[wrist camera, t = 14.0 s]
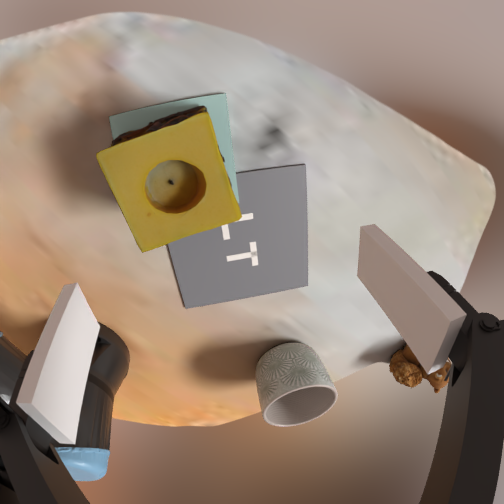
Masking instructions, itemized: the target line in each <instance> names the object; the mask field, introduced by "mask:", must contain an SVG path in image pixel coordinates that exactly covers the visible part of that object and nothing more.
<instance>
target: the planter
mask: <svg viewBox="0 0 504 504" xmlns="http://www.w3.org/2000/svg"><path fill="white" fill-rule="evenodd" d="M255 375H256V385H257V391H258V396H259V401H260V406H261V411H262V416H263V419H264V420H265V421H266V422H267V423H269V424H271V425H274V426H281V427H283V426H284V427H286V426H295V425H300V424H303V423H306V422H309V421H312V420H314V419H316V418H318V417H320V416H321V415H323V414H324V413H326V412H327V411H328V410H329V409H330V408H331V407H332V406H333V405H334V404H335V402H336V400H337V397H338V393H337V390H336V388H335V386H334V384H333V382H332V380H331V378H330V376H329V374H328V372H327V370H326V368H325V366H324V364H323V363H322V361H321V359H320V358H319V356H318V355H317V353H316V352H315V351H314V350H313V349H312V348H311V347H309V346H307V345H305V344H302V343H285V344H281V345H278V346H276V347H274V348H272V349H270V350H269V351H267V352H266V353H265V354H264V355H263V356H262V357H261V358H260V360H259V361H258V363H257V366H256V374H255Z"/></svg>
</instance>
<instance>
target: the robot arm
mask: <svg viewBox="0 0 504 504" xmlns="http://www.w3.org/2000/svg"><path fill="white" fill-rule="evenodd" d="M357 276H358V278H359V279H360V280H361V281H362V283H363V284H364V285H365V287H366V288H367V289H368V291H369V292H370V293H371V295H372V296H373V297H374V299H375V300H376V301H377V303H378V304H379V305H380V307H381V308H382V310H383V311H384V312H385V314H386V315H387V316H388V318H389V319H390V321H391V322H392V323H393V325H394V326H395V327H396V329H397V330H398V332H399V333H400V335H401V336H402V337H403V339H404V340H405V342H406V343H407V345H408V346H409V347H410V349H411V350H412V352H413V353H414V355H415V356H416V358H417V359H418V361H419V362H420V364H421V365H422V367H423V368H424V370H425V371H426V373H427V374H430V373H432V372H435V371H437V370H439V369H441V368H443V367H444V365H445V363H446V360H447V358H448V357H449V359H450V360H451V361H452V365H451V367H450V369H449V371H448V373H447V375H446V376H445V379H444V381H447V379H448V377H449V382H448V389H447V396H446V402H445V408H444V414H443V419H442V424H441V429H440V433H439V438H438V442H437V446H436V450H435V454H434V458H433V462H432V465H431V469H430V472H429V476H428V479H427V482H426V486H425V488H424V492H423V494H422V497H421V500H420V503H419V504H493V500H494V496H495V491H496V486H497V481H498V476H499V470H500V463H501V456H502V448H503V439H504V320H500V321H499V320H498V318H496V317H495V316H494V315H492V314H489V313H478V312H477V311H476V310H475V309H474V308H473V307H472V306H471V305H470V304H469V303H468V302H467V301H466V300H465V299H464V298H463V297H462V296H461V294H460V293H459V292H456V289H455V288H454V287H453V286H452V285H451V286H450V283H449V282H448V281H447V280H446V279H444V278H443V277H442V276H441V275H439V274H437V273H435V272H433V271H429V272H426V271H425V270H424V269H423V268H422V267H420V266H419V265H418V264H417V263H416V262H415V261H414V260H413V259H412V258H411V257H410V256H409V255H408V254H407V253H406V252H405V251H404V250H403V249H402V248H401V247H399V246H398V245H397V244H396V243H395V242H394V241H393V240H392V239H391V238H390V237H389V236H387V235H386V234H385V233H384V232H383V231H382V230H381V229H380V228H379V227H377V226H376V225H375V224H372V225H367V226H362V227H360V245H359V260H358V273H357ZM129 362H130V355H129V351H128V348H127V346H126V344H125V343H124V341H123V340H122V339H121V338H120V337H119V336H118V335H117V334H116V333H115V332H114V331H112V330H111V329H109V328H108V327H106V326H104V325H102V324H100V323H98V322H97V320H96V318H95V316H94V314H93V313H92V311H91V309H90V307H89V305H88V303H87V301H86V299H85V297H84V295H83V293H82V291H81V289H80V287H79V285H78V283H73V284H68V285H64V287H63V289H62V291H61V293H60V295H59V297H58V299H57V301H56V303H55V305H54V307H53V310H52V312H51V314H50V316H49V318H48V320H47V323H46V325H45V327H44V329H43V332H42V334H41V336H40V339H39V341H38V343H37V346H36V348H35V350H32V351H31V352H30V354H29V355H28V356H26V355H25V354H23V353H22V352H21V351H20V350H19V349H18V348H17V347H15V346H14V345H13V344H12V343H11V342H10V341H9V340H8V339H7V338H6V337H4V336H3V333H2V332H1V331H0V504H90V503H89V502H88V500H87V499H86V498H85V496H84V494H83V493H82V492H81V490H80V489H79V487H78V486H77V484H76V482H75V481H93V480H98V479H100V478H102V477H103V476H104V475H105V474H106V471H107V464H108V458H109V455H110V451H109V447H110V433H111V420H112V411H113V402H114V396H115V394H116V392H117V391H118V389H119V387H120V385H121V383H122V381H123V379H124V378H125V377H126V375H127V373H128V369H129ZM74 480H75V481H74Z"/></svg>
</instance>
